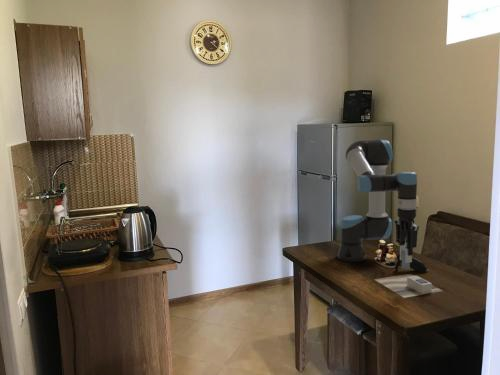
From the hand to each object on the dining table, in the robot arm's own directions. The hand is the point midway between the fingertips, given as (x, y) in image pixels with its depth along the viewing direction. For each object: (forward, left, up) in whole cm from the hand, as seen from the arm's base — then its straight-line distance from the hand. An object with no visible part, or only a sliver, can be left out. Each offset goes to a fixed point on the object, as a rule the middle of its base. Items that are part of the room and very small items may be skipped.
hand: (405, 260), depth 177 cm
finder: (+1, +7, -14) cm, 15 cm away
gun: (-19, +18, -15) cm, 29 cm away
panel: (-5, +5, -14) cm, 16 cm away
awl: (0, 0, -3) cm, 3 cm away
